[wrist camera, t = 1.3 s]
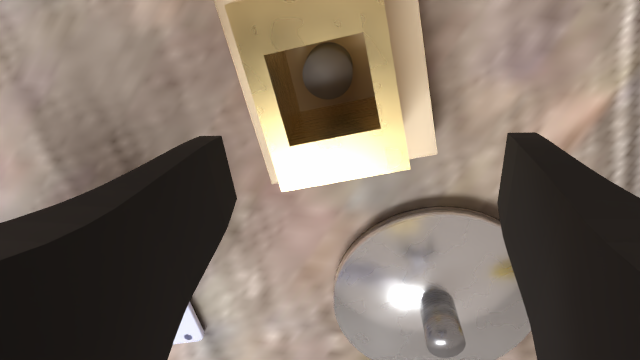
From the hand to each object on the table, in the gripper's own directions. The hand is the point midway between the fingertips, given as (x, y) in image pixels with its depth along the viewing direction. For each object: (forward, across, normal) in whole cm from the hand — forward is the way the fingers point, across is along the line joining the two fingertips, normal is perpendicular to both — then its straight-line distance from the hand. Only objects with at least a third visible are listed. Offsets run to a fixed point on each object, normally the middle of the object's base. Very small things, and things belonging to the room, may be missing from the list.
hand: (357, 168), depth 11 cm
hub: (+10, -3, +15) cm, 18 cm away
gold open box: (+9, +2, 0) cm, 9 cm away
